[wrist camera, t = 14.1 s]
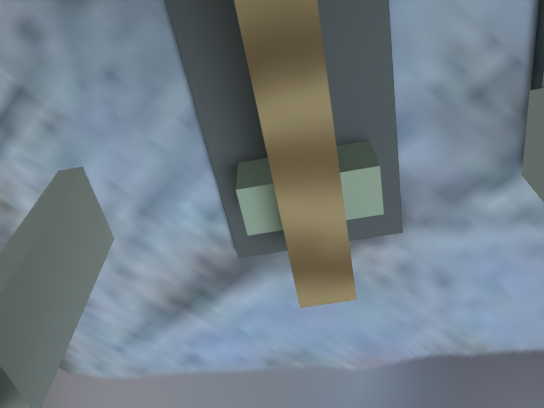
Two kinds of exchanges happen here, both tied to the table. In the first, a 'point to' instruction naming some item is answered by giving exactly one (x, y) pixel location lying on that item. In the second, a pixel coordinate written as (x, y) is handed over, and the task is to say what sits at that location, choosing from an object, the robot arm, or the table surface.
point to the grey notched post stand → (539, 51)
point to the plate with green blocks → (247, 128)
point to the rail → (300, 142)
